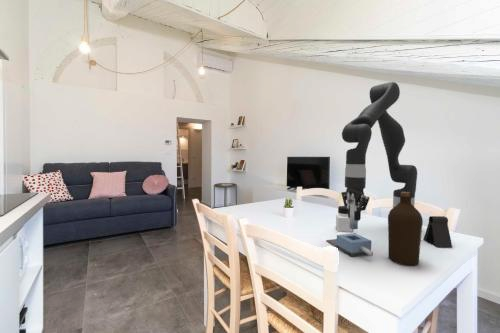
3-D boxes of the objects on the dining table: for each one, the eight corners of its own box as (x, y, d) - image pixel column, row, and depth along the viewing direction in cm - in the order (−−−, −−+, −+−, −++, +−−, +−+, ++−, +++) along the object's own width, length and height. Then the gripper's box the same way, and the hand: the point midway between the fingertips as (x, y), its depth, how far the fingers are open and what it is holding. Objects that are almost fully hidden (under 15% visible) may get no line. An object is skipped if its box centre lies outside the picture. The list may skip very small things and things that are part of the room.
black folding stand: (423, 240, 111) (424, 213, 110) (436, 240, 111) (438, 214, 110) (437, 247, 102) (438, 219, 101) (452, 248, 102) (453, 219, 101)
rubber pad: (339, 239, 111) (339, 238, 111) (350, 245, 104) (350, 244, 104) (326, 241, 109) (326, 240, 109) (336, 247, 102) (336, 245, 102)
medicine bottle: (352, 232, 122) (353, 208, 121) (337, 231, 123) (338, 207, 123) (350, 227, 129) (350, 205, 128) (335, 227, 130) (336, 204, 130)
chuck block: (354, 246, 104) (355, 233, 103) (381, 259, 90) (381, 245, 90) (336, 248, 101) (336, 235, 101) (360, 262, 88) (360, 247, 87)
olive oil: (392, 265, 86) (394, 194, 84) (382, 253, 96) (384, 189, 95) (426, 268, 84) (429, 195, 82) (413, 255, 94) (415, 190, 93)
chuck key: (356, 226, 100) (357, 194, 99) (361, 228, 97) (362, 195, 96) (345, 227, 98) (346, 195, 98) (350, 229, 95) (351, 196, 95)
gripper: (376, 177, 91) (375, 223, 92) (351, 174, 104) (350, 214, 105) (359, 177, 89) (358, 225, 90) (335, 174, 102) (334, 215, 103)
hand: (353, 219), depth 97 cm, fingers closed on chuck key, 3 cm apart
